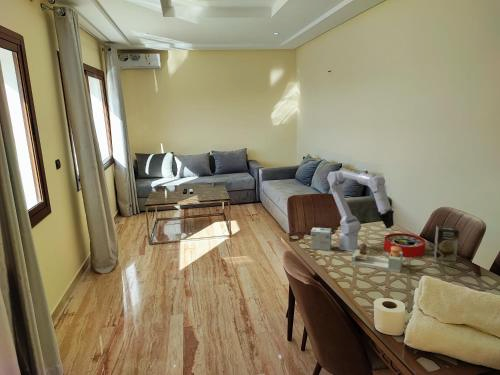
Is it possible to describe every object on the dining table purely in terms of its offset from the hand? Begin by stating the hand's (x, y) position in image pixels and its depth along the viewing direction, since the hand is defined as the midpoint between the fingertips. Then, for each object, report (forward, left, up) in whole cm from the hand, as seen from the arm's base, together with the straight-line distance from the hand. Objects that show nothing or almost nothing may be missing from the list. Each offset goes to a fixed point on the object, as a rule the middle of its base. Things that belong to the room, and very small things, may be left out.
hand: (390, 227), depth 164 cm
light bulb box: (-36, +7, -20) cm, 42 cm away
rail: (-5, -2, -19) cm, 20 cm away
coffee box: (+24, +18, -20) cm, 36 cm away
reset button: (+3, -2, -15) cm, 16 cm away
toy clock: (+5, +22, -20) cm, 30 cm away
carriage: (-12, -2, -17) cm, 21 cm away
